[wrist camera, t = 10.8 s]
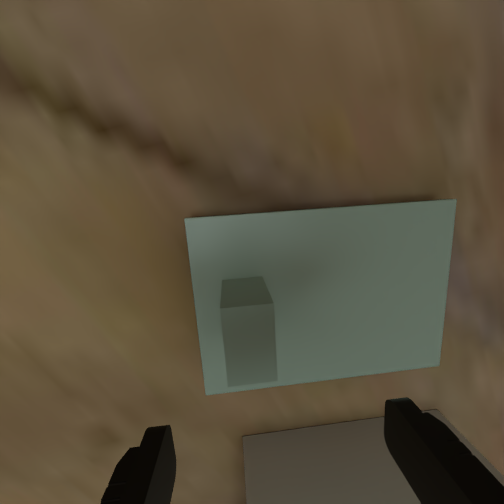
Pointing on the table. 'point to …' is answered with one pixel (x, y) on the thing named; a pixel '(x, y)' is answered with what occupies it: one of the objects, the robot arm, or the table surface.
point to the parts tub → (331, 465)
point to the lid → (319, 292)
